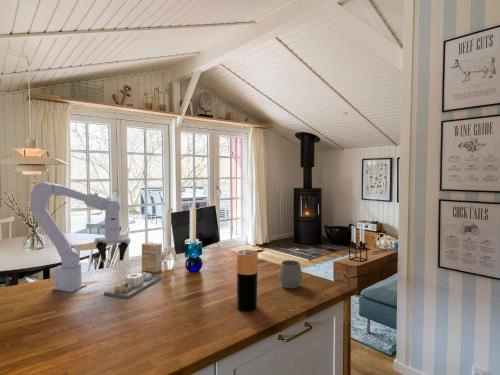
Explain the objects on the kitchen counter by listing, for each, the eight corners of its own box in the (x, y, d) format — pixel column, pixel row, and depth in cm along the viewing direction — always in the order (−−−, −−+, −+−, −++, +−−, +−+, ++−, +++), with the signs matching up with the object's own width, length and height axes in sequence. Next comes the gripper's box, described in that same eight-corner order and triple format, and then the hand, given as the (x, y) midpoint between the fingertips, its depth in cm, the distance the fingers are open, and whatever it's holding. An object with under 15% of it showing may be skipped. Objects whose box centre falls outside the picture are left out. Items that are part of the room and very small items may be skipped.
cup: (301, 283, 138) (301, 260, 138) (302, 291, 129) (303, 266, 129) (278, 282, 139) (279, 259, 139) (278, 290, 130) (279, 265, 129)
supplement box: (141, 271, 152) (140, 243, 151) (147, 268, 157) (147, 241, 156) (156, 273, 150) (156, 245, 149) (162, 270, 154) (162, 242, 154)
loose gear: (123, 285, 131) (123, 277, 130) (134, 280, 137) (134, 272, 137) (134, 287, 129) (133, 279, 128) (145, 282, 135) (145, 274, 135)
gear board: (103, 294, 124) (103, 285, 124) (139, 276, 145) (139, 268, 145) (128, 298, 121) (128, 288, 120) (160, 279, 142) (160, 270, 141)
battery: (239, 313, 109) (239, 254, 108) (234, 304, 116) (235, 249, 115) (259, 310, 111) (260, 253, 110) (253, 302, 118) (254, 248, 117)
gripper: (90, 229, 133) (91, 262, 134) (125, 230, 133) (125, 262, 133) (98, 226, 140) (99, 257, 141) (132, 227, 140) (132, 258, 140)
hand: (112, 259), depth 138 cm, fingers open, 7 cm apart
